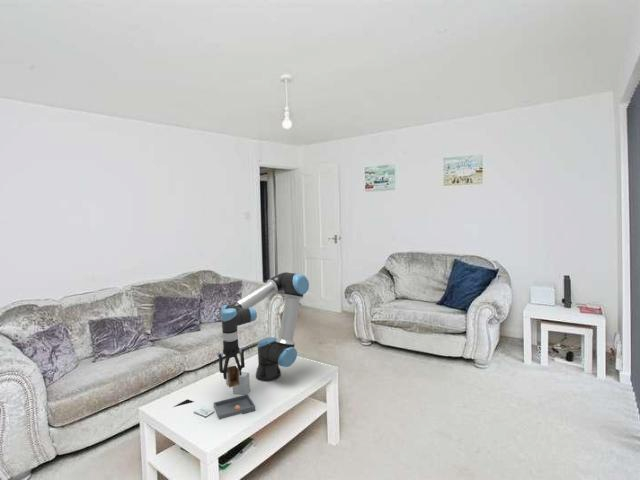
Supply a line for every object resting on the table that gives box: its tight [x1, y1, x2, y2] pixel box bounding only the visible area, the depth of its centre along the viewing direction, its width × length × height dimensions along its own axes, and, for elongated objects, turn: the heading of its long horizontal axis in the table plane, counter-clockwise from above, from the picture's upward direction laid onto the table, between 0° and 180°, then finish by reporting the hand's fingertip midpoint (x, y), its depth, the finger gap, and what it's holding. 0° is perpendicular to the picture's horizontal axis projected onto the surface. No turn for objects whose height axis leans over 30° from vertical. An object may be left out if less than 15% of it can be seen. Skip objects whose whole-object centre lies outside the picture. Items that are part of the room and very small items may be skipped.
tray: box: [213, 393, 257, 420], centre depth 186 cm, size 18×14×2 cm
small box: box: [232, 371, 251, 396], centre depth 204 cm, size 8×6×10 cm
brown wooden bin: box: [227, 364, 240, 388], centre depth 188 cm, size 5×6×8 cm
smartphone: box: [173, 399, 195, 408], centre depth 188 cm, size 8×17×1 cm, turn 149°
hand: (233, 383), depth 188 cm, fingers closed on brown wooden bin, 5 cm apart
